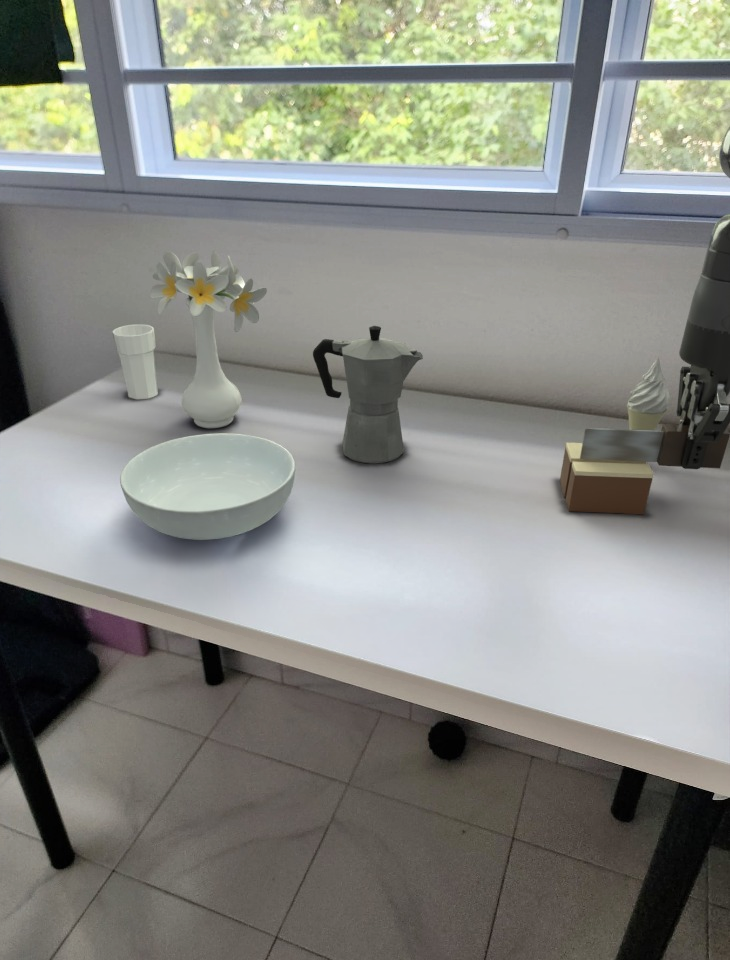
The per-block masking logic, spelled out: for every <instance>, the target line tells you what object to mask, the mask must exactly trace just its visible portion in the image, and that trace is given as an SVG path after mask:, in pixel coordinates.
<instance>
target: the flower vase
mask: <svg viewBox="0 0 730 960" xmlns="http://www.w3.org/2000/svg"><path fill="white" fill-rule="evenodd" d="M199 258H200V254H199V253H198V252H195V251H194V252H191V253H189V254H187V256H186V257H184V259H183V261H182V263H181V261H180V259H179V257H178V255H176V254H175V253H173V252H172V251H169V250H166V251H165V252H164V253H163V262H164V263H163V262H161V261H158V262H157V263H156V272H154V273H153V274H152V278H153V279H154V280H155V281H159V282H162V283H157V284H154V285H152V287H151V288H150V289H149V291H148V297H149V298H150V299H153V300H156V299H160V301H159V303H158V306H157V314H158V315H162V314H163V313H164V311H166V308H167V307H168V305H169V303H171V301H172V300H175V299H176V298H177V295H178V293H181V294H184V295H186V296H188V297H187V298H186V299H185V304H186V306H187V307H188V310H189V312H190V317H191V319H192V324H193V330H194V339H195V354H196V355H195V358H196V365H195V371H194V375H193V378H192V381H191V382H190V383H189V384H188V385H187V386H186V388H185V390H184V392H183V394H182V397H181V408H182V410H183V411H184V412H185V413H186V414H187V416H189V417H190V418H192V419H193V422H194V424H195V425H196V426H198V427H200V428H203V429H204V428H205V429H219V428H223V427H226V426H228V425H230V424H231V423H233V421H234V418H235V417H234V416H235V414H237V413H238V411H239V410H240V408H241V406H242V404H243V398H242V394H241V392H240V390H239V388H238V387H237V386H236V385H235V384H234V383H233V382H232V381H231V380H230V379H228V377H227V375H225V373H224V371H223V368H222V366H221V363H220V359H219V355H218V354H219V353H218V347H217V339H216V332H215V331H216V330H215V312H218V313H226V311H227V304H226V303H225V301H224V300H225V299H226V298H229V299H230V300H232V301H231V302H230V303H229V310H230V312H232V313H233V314H234V319H233V330H234V332H235V333H238V332H239V331H240V330H241V328H242V326H243V324H244V317H245V318H246V320H247V321H248V322H250V323H252V324H258V322H259V320H260V314H259V310H258V309H257V307H256V306H255V304H256V303H257V302H260V301H261V300H262V299H263V298H264V297H265V296H266V295H267V293H268V289H267V287H265V286H264V287H259V288H257V289H254V290H253V287H254V280H253V278H248V279H247V280H246V282H245V280H244V279H243V277H242V275H240V274H239V273H240V268H239V267H238V266H237V265H236V264H233V262H232V259H231V257H230V255H229V254H228V255H227V265H226V266H224V267H223V268H222V262H221V258H220V255H219V254H218V253H217V252H216V251H215V250H213V251H211V254H210V264H211V266H210V267H205V265H204V263H203V262H202V261H199ZM164 264H165V265H164Z"/></svg>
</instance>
